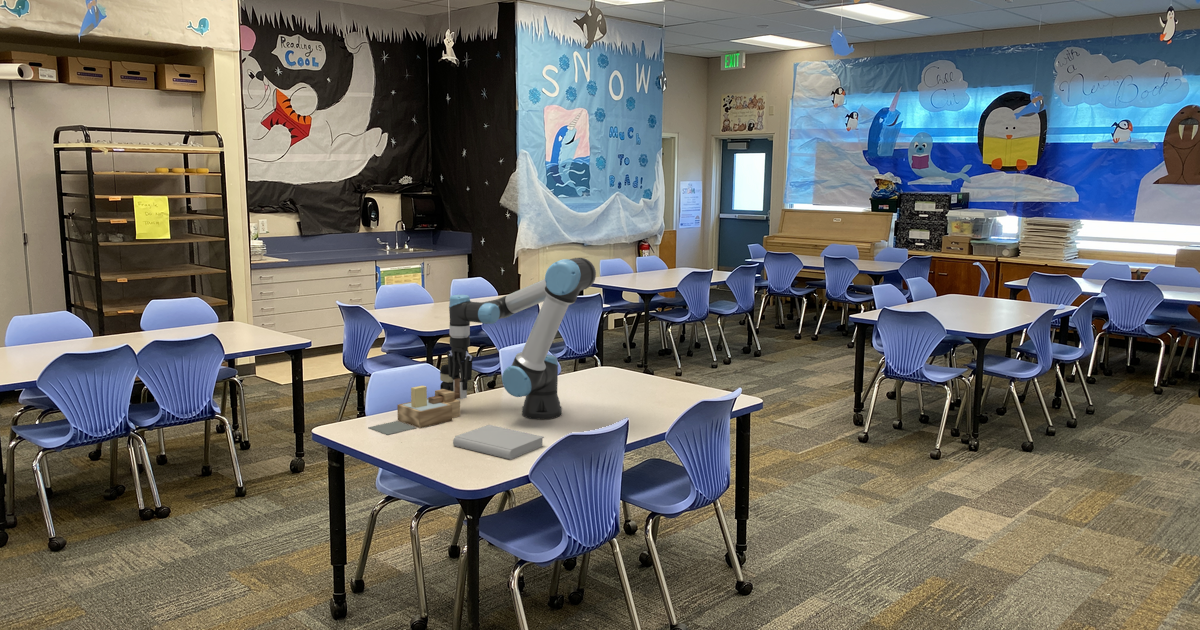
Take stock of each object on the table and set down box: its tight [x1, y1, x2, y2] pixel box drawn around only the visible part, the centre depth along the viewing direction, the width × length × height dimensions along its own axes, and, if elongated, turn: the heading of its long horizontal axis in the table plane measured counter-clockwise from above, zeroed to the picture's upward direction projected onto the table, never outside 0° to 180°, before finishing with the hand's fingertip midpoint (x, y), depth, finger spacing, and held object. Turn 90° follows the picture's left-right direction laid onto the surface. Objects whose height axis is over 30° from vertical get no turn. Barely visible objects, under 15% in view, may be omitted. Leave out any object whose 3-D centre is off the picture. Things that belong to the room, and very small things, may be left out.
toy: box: [439, 363, 461, 392], centre depth 342 cm, size 8×9×15 cm
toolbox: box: [396, 389, 461, 429], centre depth 315 cm, size 14×20×10 cm
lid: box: [402, 385, 447, 411], centre depth 313 cm, size 12×12×8 cm
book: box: [452, 424, 545, 460], centre depth 285 cm, size 18×4×24 cm
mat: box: [368, 420, 417, 436], centre depth 304 cm, size 12×12×1 cm
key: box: [427, 377, 461, 404], centre depth 320 cm, size 3×15×7 cm, turn 138°
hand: (460, 397), depth 325 cm, fingers closed on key, 3 cm apart
